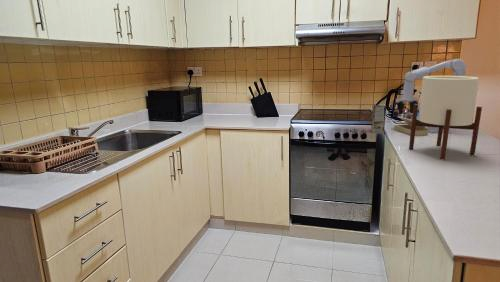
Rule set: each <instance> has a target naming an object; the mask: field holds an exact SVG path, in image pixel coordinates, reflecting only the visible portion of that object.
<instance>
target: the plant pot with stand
mask: <svg viewBox="0 0 500 282" xmlns="http://www.w3.org/2000/svg"><path fill="white" fill-rule="evenodd" d="M479 81H480V78H479V77H477V76H467V75H465V76H455V75H428V76H425V77H422V81H421V90H420V91H421V93H420V99H419V103H418V104H414V106H413V115H412V116H411V117H412V125H411V134H410V135H409V144H408V149H409V150H410V151H413V150H414V146H415V145H414V144H415V137H416V136H415V129H416V126H424V127H426V128H427V127H439V129H438V132H437V137H436V138H437V139H436V146H437V147H441V149H440V158H439V160H441V159H445V160H446V155H447V147H448V146H447V145H448V140H449V131H450V129H453V130H454V129H457V130H469V131H470V130H471V131H472V136H471V143H470V149H469V155H470V154H471V155H470V156H472V155H474V154H475V155H476V148H477V142H478V135H479V129H480V122H481V117H482V110H483V106H476V101H477V96H478V90H479V88H478V87H479ZM475 108H476V111H475ZM418 109H419V111H418ZM474 114H475V116H474ZM473 121H474V122H473ZM443 130H444V132H443ZM475 155H474V156H475Z"/></svg>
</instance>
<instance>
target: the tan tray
mask: <svg viewBox="0 0 500 282" xmlns="http://www.w3.org/2000/svg"><path fill="white" fill-rule="evenodd" d="M393 130H394V131H395V132H396V131H397V132H399V133H403V134H404V135H408V136H410V134H411V125H409V124H408V123H406V124H394V127H393ZM428 135H429V131H428V130H426V129H423V128H419V127H416V129H415V137H422V136H423V137H424V136H428Z"/></svg>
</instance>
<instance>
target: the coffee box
mask: <svg viewBox="0 0 500 282" xmlns="http://www.w3.org/2000/svg"><path fill="white" fill-rule="evenodd" d="M386 115H387V106H386V105H384V104H374V105H372V117H371V119H372V120H371V132H372V134H380V135H381V134H385V126H386V125H385V124H386Z"/></svg>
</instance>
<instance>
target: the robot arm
mask: <svg viewBox="0 0 500 282" xmlns="http://www.w3.org/2000/svg"><path fill="white" fill-rule="evenodd" d="M443 69H448V70H449V69H451V70H452V72H453V74H454V75H453V76H466V71H467V70H466V69H467V65H466V62H465V61H464V60H463V59H461V58H453V59H450V60H446V61H442V62H439V63H437V64H434V65H432V66H430V67H429V66H428V67H427V66H420V67H419V68H417V69H412V70H411V71H408V72H406V73H405V75H404V83H403V89H402V90H403V92H402V98H395V104H396V107H397V109H398V110H397V111H398V114H399V115H403V111H404V106H405V103H409V113H413V106H414V104H418V105H419V103H420V99H419V98H414V89H415V81H416V80H419V79H423V77H425V76H430V73H432V72H436V71H439V70H443ZM426 128H428V129H429V130H428V133H429V132H430V133H438V129H439V127H426ZM442 133H444V130H443V132H442Z"/></svg>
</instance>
